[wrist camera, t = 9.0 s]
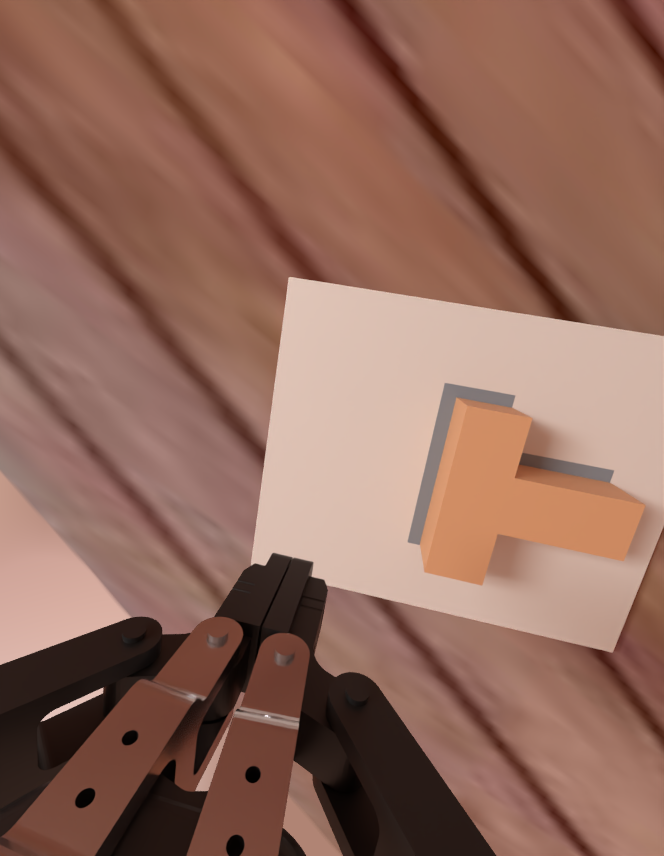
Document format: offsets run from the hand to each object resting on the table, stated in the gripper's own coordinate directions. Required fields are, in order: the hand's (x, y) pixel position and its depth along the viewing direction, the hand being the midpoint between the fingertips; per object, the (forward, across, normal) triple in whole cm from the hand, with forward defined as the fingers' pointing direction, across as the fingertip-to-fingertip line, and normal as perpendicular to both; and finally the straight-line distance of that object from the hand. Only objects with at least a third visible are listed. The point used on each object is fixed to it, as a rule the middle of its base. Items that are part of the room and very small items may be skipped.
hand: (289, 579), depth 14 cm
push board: (+18, -9, 0) cm, 20 cm away
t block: (+17, -13, 0) cm, 22 cm away
